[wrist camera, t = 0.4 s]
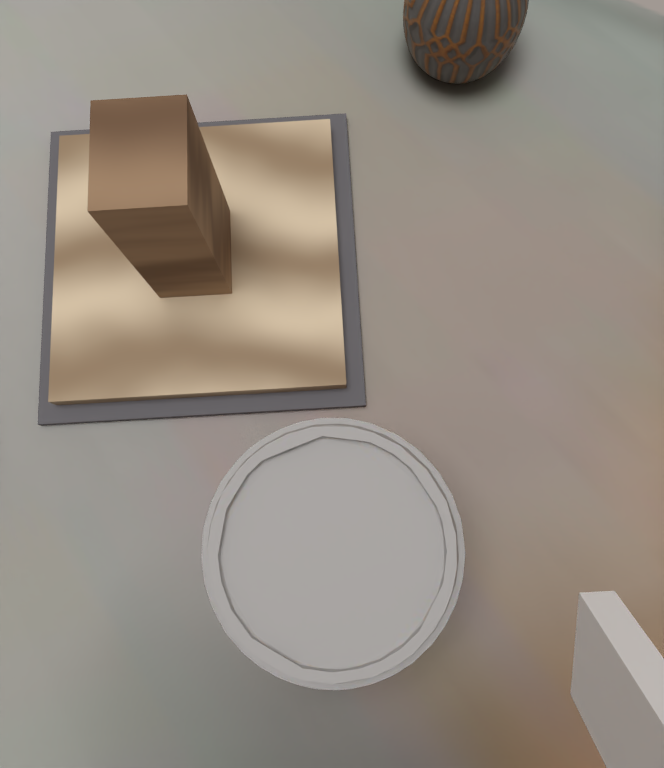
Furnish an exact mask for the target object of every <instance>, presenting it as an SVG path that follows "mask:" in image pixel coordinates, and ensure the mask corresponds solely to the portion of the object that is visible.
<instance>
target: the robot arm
mask: <svg viewBox="0 0 664 768" xmlns="http://www.w3.org/2000/svg"><path fill="white" fill-rule="evenodd" d="M571 696H572V698H573V700H574V703H575V705H576V707H577V709H578V711H579V713H580V715H581V717H582V719H583V721H584V723H585V725H586V727H587V729H588V731H589V733H590V735H591V737H592V739H593V741H594V743H595V745H596V747H597V749H598V751H599V753H600V755H601V757H602V759H603V761H604V763H605V765H606V767H607V768H664V658H663V657H662V656H661V654H660V653H659V651H658V650H657V649H656V647H655V646H654V645H653V643H652V642H651V640H650V639H649V638H648V636H647V635H646V634H645V632H644V631H643V629H642V628H641V627H640V625H639V624H638V623H637V621H636V620H635V618H634V617H633V616H632V614H631V613H630V611H629V610H628V609H627V607H626V606H625V605H624V603H623V602H622V600H621V599H620V598H619V596H618V595H617V594H616V592H615V591H601V592H582V593H579V601H578V613H577V625H576V636H575V648H574V660H573V671H572V683H571Z"/></svg>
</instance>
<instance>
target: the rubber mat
mask: <svg viewBox="0 0 664 768" xmlns="http://www.w3.org/2000/svg"><path fill="white" fill-rule="evenodd" d="M320 119H330V126H331V142H332V158H333V174H334V191H335V207H336V223H337V240H338V256H339V272H340V289H341V305H342V321H343V337H344V354H345V370H346V388H344V389H327V390H310V391H293V392H275V393H258V394H241V395H224V396H207V397H190V398H173V399H155V400H138V401H121V402H104V403H87V404H70V405H55V404H52V403H50V402H48V395H49V371H50V348H51V324H52V300H53V276H54V253H55V229H56V205H57V181H58V158H59V136H64V135H80V134H90V130H75V131H59V132H51V144H50V166H49V188H48V210H47V232H46V254H45V276H44V298H43V320H42V342H41V364H40V386H39V408H38V424H39V425H56V424H73V423H90V422H107V421H124V420H142V419H159V418H176V417H193V416H211V415H228V414H245V413H262V412H279V411H297V410H314V409H331V408H348V407H366V401H365V386H364V371H363V357H362V342H361V327H360V312H359V298H358V283H357V268H356V253H355V238H354V224H353V209H352V194H351V179H350V164H349V150H348V135H347V120H346V114H331V115H315V116H299V117H283V118H267V119H251V120H235V121H219V122H203V123H198V126H199V127H208V126H224V125H240V124H256V123H272V122H288V121H304V120H320Z"/></svg>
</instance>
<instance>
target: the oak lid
mask: <svg viewBox="0 0 664 768" xmlns="http://www.w3.org/2000/svg"><path fill="white" fill-rule="evenodd" d="M344 388H346V370H345V354H344V337H343V321H342V305H341V289H340V272H339V256H338V240H337V223H336V207H335V191H334V174H333V158H332V142H331V126H330V119H320V120H304V121H288V122H272V123H256V124H240V125H224V126H208V127H199V126H198V123H197V121H196V118H195V115H194V113H193V110H192V107H191V105H190V102H189V99H188V97H187V95H173V96H157V97H141V98H125V99H109V100H93V101H91V108H90V134H80V135H64V136H59V158H58V181H57V205H56V229H55V253H54V276H53V300H52V324H51V348H50V371H49V395H48V402H50V403H52V404H55V405H70V404H87V403H104V402H121V401H138V400H155V399H173V398H190V397H207V396H224V395H241V394H258V393H275V392H293V391H310V390H327V389H344Z"/></svg>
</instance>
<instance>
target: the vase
mask: <svg viewBox="0 0 664 768" xmlns="http://www.w3.org/2000/svg"><path fill="white" fill-rule="evenodd" d="M528 2H529V0H404V11H403V26H404V33H405V38H406V41H407V45H408V48H409V50H410V52H411V54H412V56H413V58H414V60H415V62H416V63H417V64H418V65H419V67H420V68H421V69H423V70H424V71H425V72H426V73H427V74H429V75H430V76H432V77H433V78H435V79H437V80H440V81H443V82H447V83H467V82H471V81H474V80H477V79H480V78H482V77H484V76H486V75H487V74H489V73H490V72H491V71H493V70H494V69H495V68H496V67H497V66H498V65H499V64H500V63H501V62H502V61H503V60H504V59H505V58H506V57H507V55H508V54H509V52H510V51H511V50H512V48H513V46H514V45H515V43H516V41H517V39H518V37H519V35H520V32H521V30H522V27H523V24H524V21H525V18H526V14H527V9H528Z"/></svg>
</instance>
